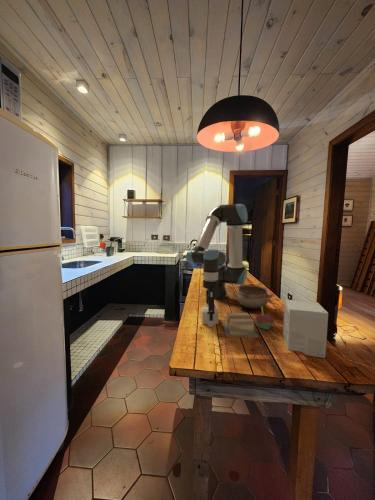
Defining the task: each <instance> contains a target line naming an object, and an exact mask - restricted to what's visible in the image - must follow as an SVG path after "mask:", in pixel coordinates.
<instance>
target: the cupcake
mask: <svg viewBox="0 0 375 500" xmlns="http://www.w3.org/2000/svg"><path fill="white" fill-rule="evenodd" d="M260 309H261V313H260V314H257V315H256V316H255V322H256V323H257V325H258V327H259V328H260V329H263V330H270V329H271V327H272V326H273V325H274V324H275V319H274V317H273V316H271V315H270V314H269V313H268V314H267V313H264V306H261V308H260Z"/></svg>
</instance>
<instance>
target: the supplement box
mask: <svg viewBox="0 0 375 500" xmlns="http://www.w3.org/2000/svg"><path fill="white" fill-rule="evenodd" d="M283 307H284V310H283V325H282V327H283V328H282V336H283V339H284V343H285V347H286V349H287V350H289V351H292V352H293V351H294V352H299V353H303V354H304V355H305V356H309V357H315V358H316V357H317V358H321V359H322V358H326V355H327V354H326V352H327V339H328V338H327V337H328V326H329V325H328V322H329V312H328V311H327V310H326V309H324V307H323V306H322V305H321V304H320V303H319V302H316V301H307V300H306V301H305V300H297V299H296V300H295V299H284V306H283Z"/></svg>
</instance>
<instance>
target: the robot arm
mask: <svg viewBox="0 0 375 500" xmlns="http://www.w3.org/2000/svg"><path fill="white" fill-rule="evenodd" d="M248 215H249V214H248V211H247V207H246V205H245V204H243V203H233V204H229V203H228V204H220V205H217V206H216V207H214V208H213V209H211V211H210V212H208V214H207V215H206V218H205V223H204V226H203V228H202V231H201V232H200V234H199V237H198V239H197V241H196V244H195V245H194V247H193V249H191V250H189V249H188V250H187V252H186V254H185V260H186V262H187V263H189V264H193V265H203V270H202V271H203V272H202V273H201V275H202V278H203V280H202V287H203V288H204V289H206V290H205V307H208V311H209V312H207V314H208V324H207V327H209V328H210V327H211V328H212V327H214V325H215V324H214V313H215V312H214V307H215V300H223V299H227V297H228V293H227V292H228V291H227V289H226V284H231V285H236V286H241V285H245V283H246V282H247V281H246V280H247V278H248V268H246V267H245V266H246V265H245V264H244V263H243V227H244V226H245V223H247V222H248V218H249V217H248ZM222 223H225V224H226V227H227V228H228V241H229V242H228V248H229V249H228V250H229V251H228V252H229V253H228V257H229V258H228V257H227V254H226V253H225V252H224V251H219V250H218V249H215V248H209V246H210V243H211V241H212V239H213V237H214V235H215V232H216V230H217V227H219V226H220V224H222ZM227 259H229V261H228V263H227ZM226 263H227V265H226Z"/></svg>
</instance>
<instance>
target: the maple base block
mask: <svg viewBox="0 0 375 500" xmlns="http://www.w3.org/2000/svg"><path fill="white" fill-rule="evenodd" d="M226 323H227V326H228V329H229V332H230V334H231V335H253V329H254V326H255V323H254V320H253V319H252V317H251V316H250V314H249V313H248V312H247V313H246V312H227V313H226ZM254 330H255V329H254Z"/></svg>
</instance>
